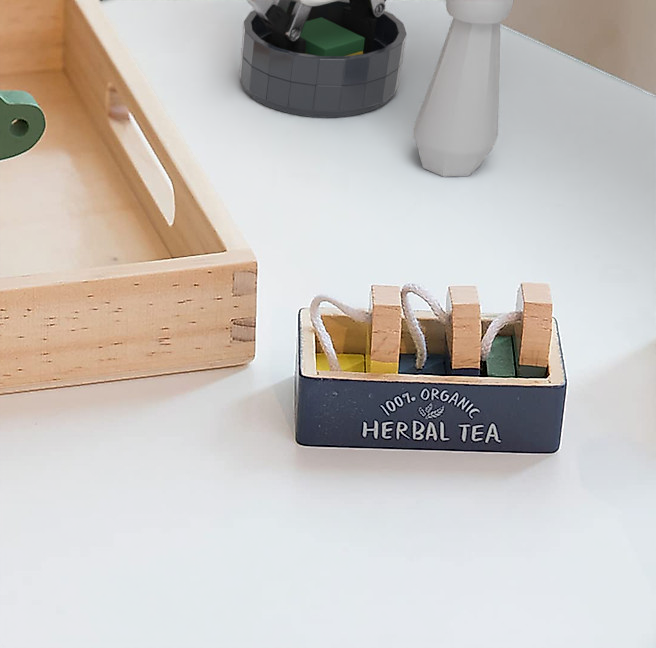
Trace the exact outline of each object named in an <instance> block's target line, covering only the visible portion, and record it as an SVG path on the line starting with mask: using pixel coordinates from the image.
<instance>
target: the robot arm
mask: <svg viewBox="0 0 656 648" xmlns="http://www.w3.org/2000/svg"><path fill="white" fill-rule="evenodd" d="M292 1H294V2H296V4H295V7H294V9H293V12H292V14H291V17H289V16H288V15H287V14H286V12H287V10H288V7H289V5H290V2H291V0H246V2H247V3H248V4H249V5H250V7H251V9H253V10H255V11H256V12H257V15H258V16H259V17H260V19H261V20H262V21H263V22H264V23H265V26H266V28H267V29H268V30H270V31H272V42H271V45H273V46H275V47H278V48H281V49H285V50H288V51H292V52H295V53H302V54H305V50H306V40H305V39H303V38H301V37H300V35H301V33H302V30H303V28H304V25H305V23H306V20H307V18H308V15H309V13H310V10H311V8H312V6H319V5H323V4H328V3H331V2H335V1H339V0H292ZM349 2H350V5H351V8H350V7H345V8H343V13H342V18H341V27H343V28H345V29H347V30H349V31H351V32H353V33H355V34H357V35H360V36H362V37H364V38H365V41H364V49H363V54H367V53H370V52H372V49H373V42H374V35H375V28H376V21H377V20H376V18H378V17H380V16H381V15H382V14H383V13H384V11H386V2H387V0H349Z"/></svg>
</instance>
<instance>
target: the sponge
mask: <svg viewBox="0 0 656 648" xmlns="http://www.w3.org/2000/svg"><path fill="white" fill-rule="evenodd" d="M300 37H301V38H303V39H305V40H306V50H305V54H309V55H316V56H351V55H360V54H363V49H364V41H365V38H364V37H362V36H360V35H357V34H355V33H353V32H351V31H349V30H347V29H345V28H343V27H341V26H339V25H337V24H335V23H332V22H330V21H328V20H326V19H324V18H322V17H321V18H317V19H313V20H310V21H306V23H305V25H304V28H303V30H302V33H301V35H300Z"/></svg>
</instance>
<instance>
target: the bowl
mask: <svg viewBox="0 0 656 648" xmlns="http://www.w3.org/2000/svg"><path fill="white" fill-rule="evenodd" d="M295 4H296V2H294V1H292V0H291V2H290V5H289V7H288V10H287V12H286V14H287V15H288V16H289V17H291V14H292V12H293V9H294V7H295ZM345 7H350V8H351V5H350V2H349V0H339V1H335V2H331V3H328V4H323V5H319V6H312V8H311V10H310V13H309V15H308V18H307V20H306V21H310V20H313V19H317V18H321V17H322V18H324V19H326V20H328V21H330V22H332V23H335V24H337V25H339V26H341V18H342V13H343V8H345ZM376 20H377V21H376V28H375V35H374V42H373V49H372V52H370V53H367V54H360V55H351V56H316V55H309V54H302V53H295V52H292V51H288V50H285V49H281V48H278V47H275V46H273V45H271V42H272V31H270V30H268V29H267V28H266V26H265V23H264V22H263V21H262V20H261V19H260V17H259V16H258V15H257V12H256V11H255V10H254V9H253V10H250V12H249V13H248V14H247V16H246V17H245V18H244V20H243V25H242V34H241V35H242V36H241V48H240V60H239V79H240V82H241V84H242V86H243V88H244V90H245V92H246V93H247V94H248V95H249V97H250V98H252V99H253V100H254V101H256V102H258V103H260V104H262V105H264V106H266V107H268V108H270V109H273V110H276V111H280V112H283V113H287V114H292V115H296V116H303V117H312V118H343V117H351V116H358V115H362V114H365V113H369V112H372V111H375V110H377V109H379V108H381V107H383V106H384V105H385V104H387V103H388V102H389V101H390V100H391V98H392V96H394V95H395V94H396V92H397V89H398V88H399V85H400V82H401V75H402V68H403V60H404V56H405V55H404V54H405V48H406V41H407V35H408V33H407V30H406V27H405V24H404V22H403V21H401V20H400V19H399V18H397V17H396V16H395V15H394V14H393V13H391V12H390V11H389V12H388V11H387V10H385V11H384V13H383V14H382V15H381V16H380V17H378V18H376Z"/></svg>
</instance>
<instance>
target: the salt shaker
mask: <svg viewBox="0 0 656 648" xmlns="http://www.w3.org/2000/svg"><path fill="white" fill-rule="evenodd" d="M514 1H515V0H445V8H446V12H447V13H448V16H450V17H452V20H451V23H450V26H449V30H448V32H447V34H446V38H445V40H444V43H443V46H442V49H441V52H440V54H439V57H438V59H437V63H436V66H435V68H434V71H433V75H432V77H431V80H430V83H429V85H428V88H427V90H426V94H425V95H424V98H423V101H422V104H421V105H420V106H421V107H420V109H419V112H418V115H417V117H416V120H415V122H414V125H413V127H412V137H413V139H414V143H415V145H416V147H417V150H418V154H419V158H420V162H421V167H422V168H423V169H425V170H427V171H429V172H432V173H434V174H436V175H438V176H441V177H445V178H446V177H470V176H471V175H472V174H473V173H474V172H475V171H476V170H478V168H480V166H481V165H482V163H483V162H484V160H485V159H486V157H488V155H489V153H490V152H491V151H492V150H493V148H494V146H495V145H496V144H495V143H496V141H497V139H498V136H499V111H500V110H499V108H500V106H499V105H500V104H499V103H500V62H501V61H500V60H501V58H500V57H501V23H502V22H503V21H505V20H507V19H508V17H509V15H510V13H511V11H512V9H513V5H514Z"/></svg>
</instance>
